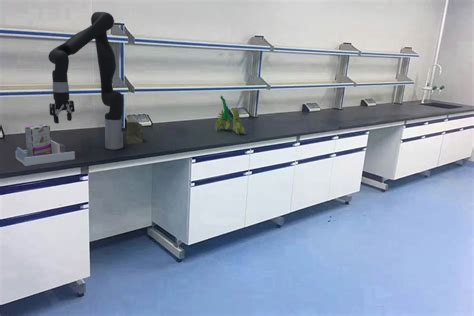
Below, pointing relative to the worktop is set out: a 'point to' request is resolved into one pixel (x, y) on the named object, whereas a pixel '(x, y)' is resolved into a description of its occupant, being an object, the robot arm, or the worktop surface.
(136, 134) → the stone block
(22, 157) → the grey shallow tray
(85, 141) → the worktop surface
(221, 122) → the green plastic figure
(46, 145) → the candy bar box
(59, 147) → the pusher
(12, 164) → the worktop surface
